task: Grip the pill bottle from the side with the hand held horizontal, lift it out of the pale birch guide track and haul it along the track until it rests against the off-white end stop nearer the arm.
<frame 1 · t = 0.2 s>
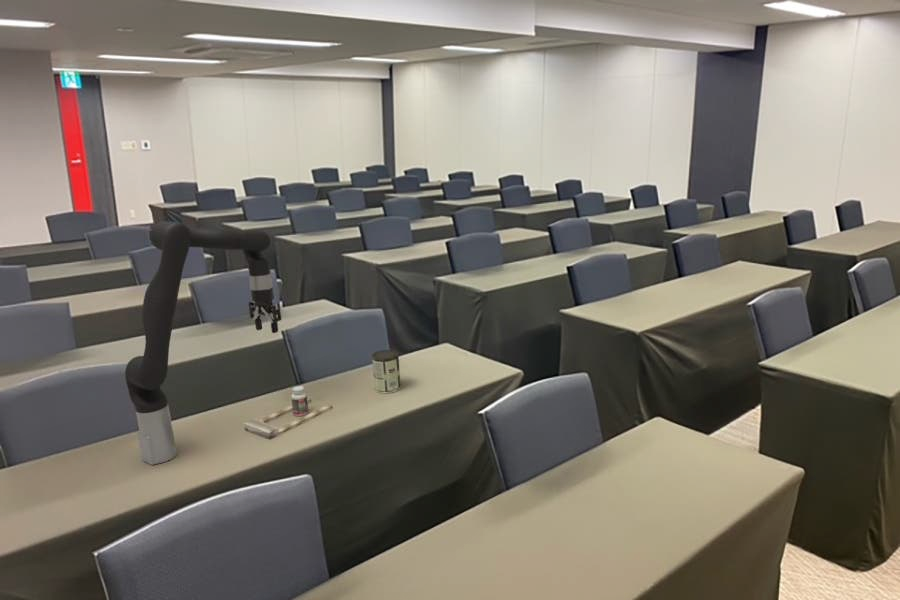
hand: (267, 331, 226), 29 cm above the table, tool pointing down, fingers open, 8 cm apart
coffee can: (387, 388, 244), on the table
keeper track: (290, 418, 222), on the table
pill bottle: (301, 413, 226), resting in keeper track
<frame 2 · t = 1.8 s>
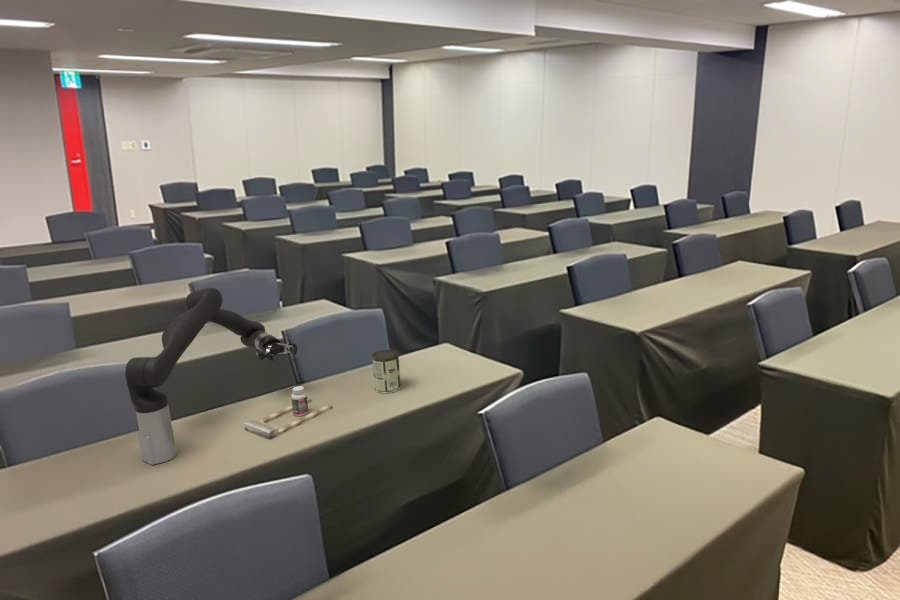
hand: (284, 355, 230), 19 cm above the table, tool horizontal, fingers open, 8 cm apart
nothing on the table moved.
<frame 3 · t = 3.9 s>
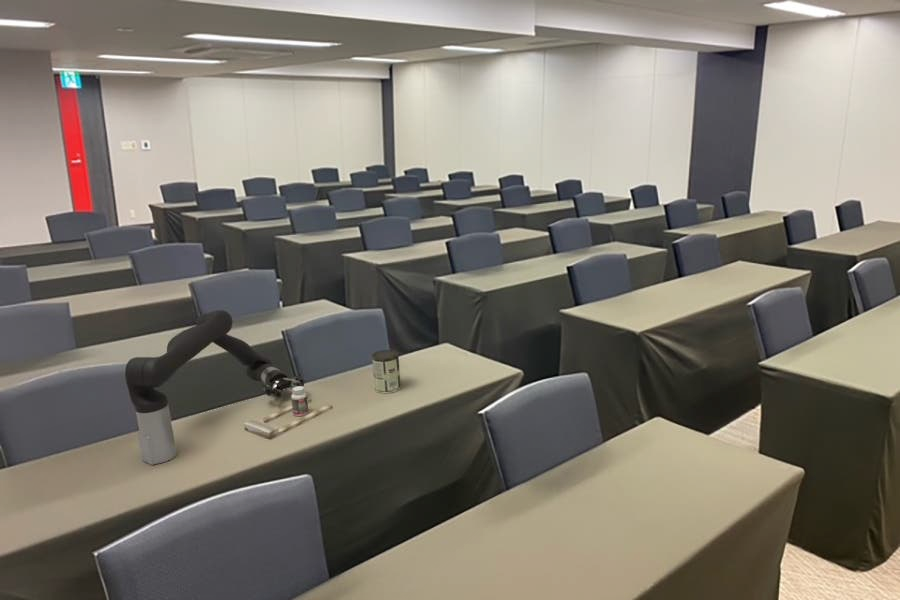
hand: (291, 391, 230), 6 cm above the table, tool horizontal, fingers open, 8 cm apart
nothing on the table moved.
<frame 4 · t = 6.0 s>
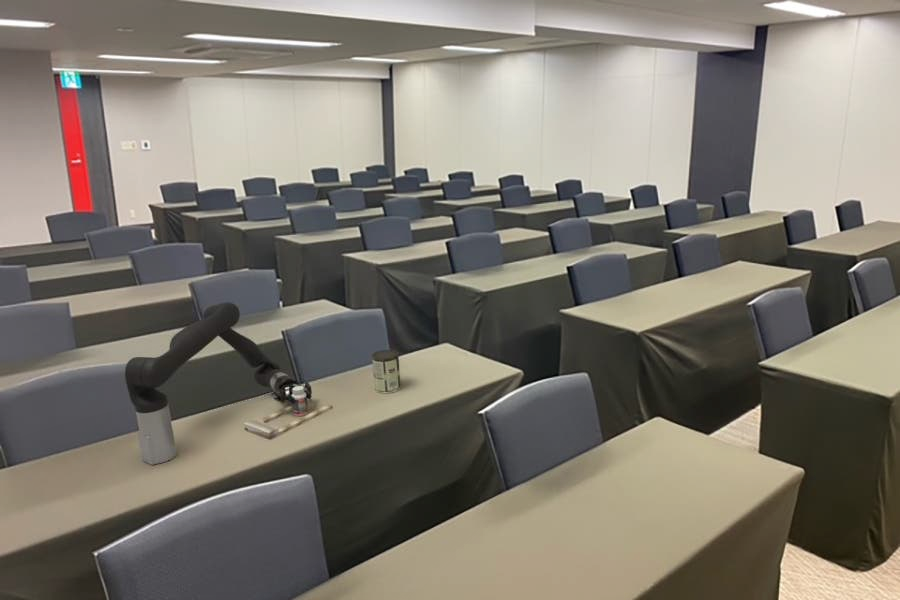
hand: (301, 398, 222), 7 cm above the table, tool horizontal, fingers closed on pill bottle, 5 cm apart
pill bottle: (301, 413, 226), resting in keeper track, touching gripper
everything else where it was.
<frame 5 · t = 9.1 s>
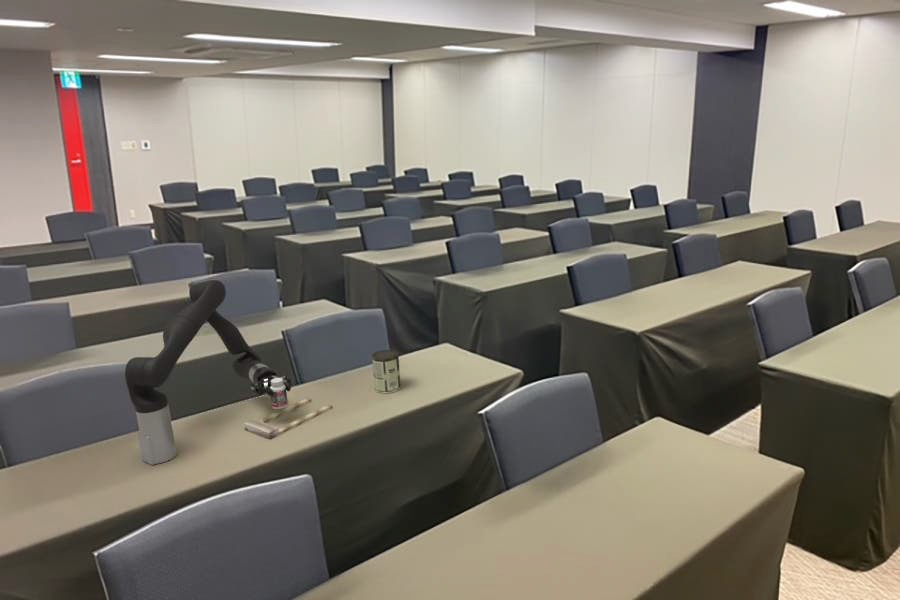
hand: (280, 391, 214), 13 cm above the table, tool horizontal, fingers closed on pill bottle, 5 cm apart
pill bottle: (280, 406, 218), point 6 cm above the table, touching gripper
everything else where it was.
when the fingers open (7 cm above the table, at t = 12.4 s): pill bottle stays where it is, resting in keeper track.
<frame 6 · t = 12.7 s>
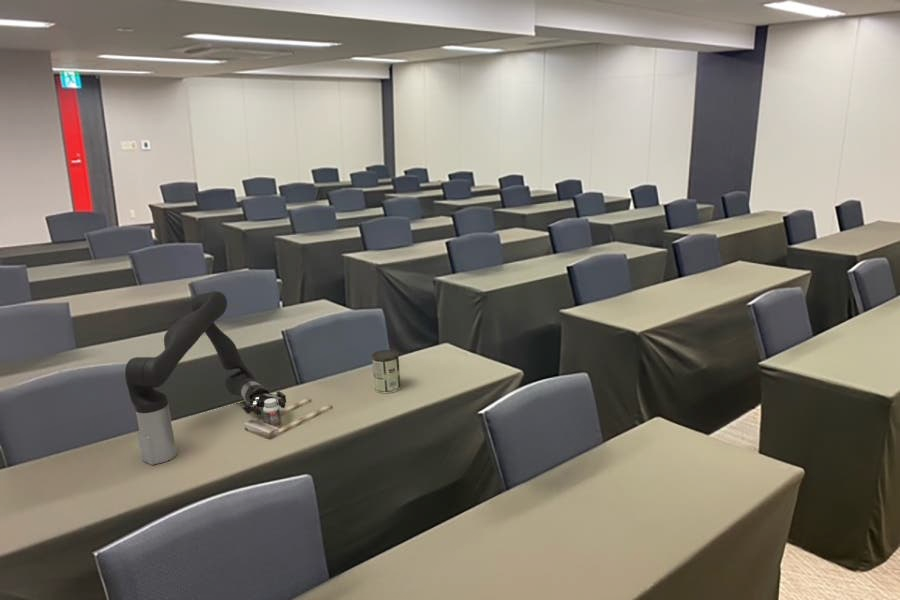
hand: (272, 409, 213), 7 cm above the table, tool horizontal, fingers open, 8 cm apart
pill bottle: (273, 427, 217), resting in keeper track
everything else where it was.
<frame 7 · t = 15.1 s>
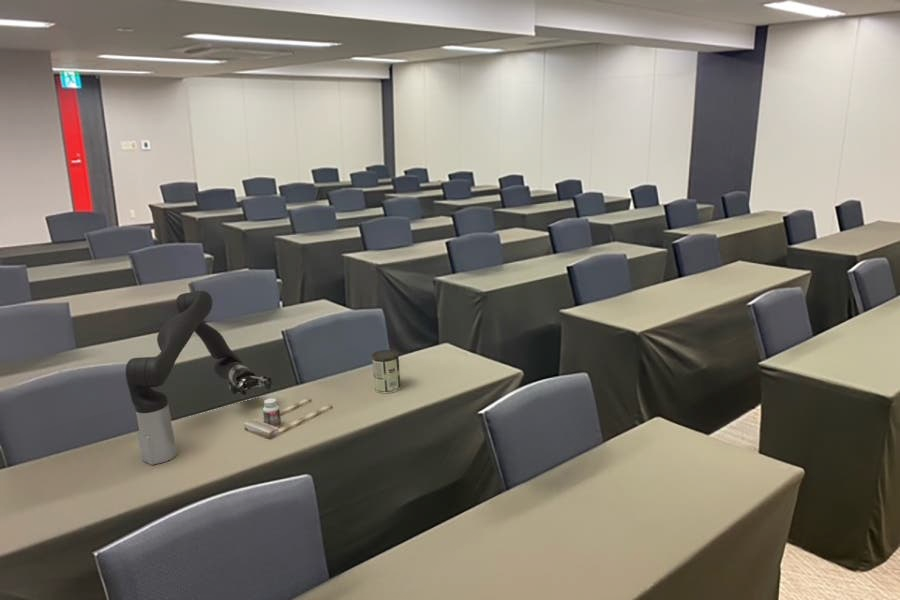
hand: (257, 389, 222), 10 cm above the table, tool horizontal, fingers open, 8 cm apart
nothing on the table moved.
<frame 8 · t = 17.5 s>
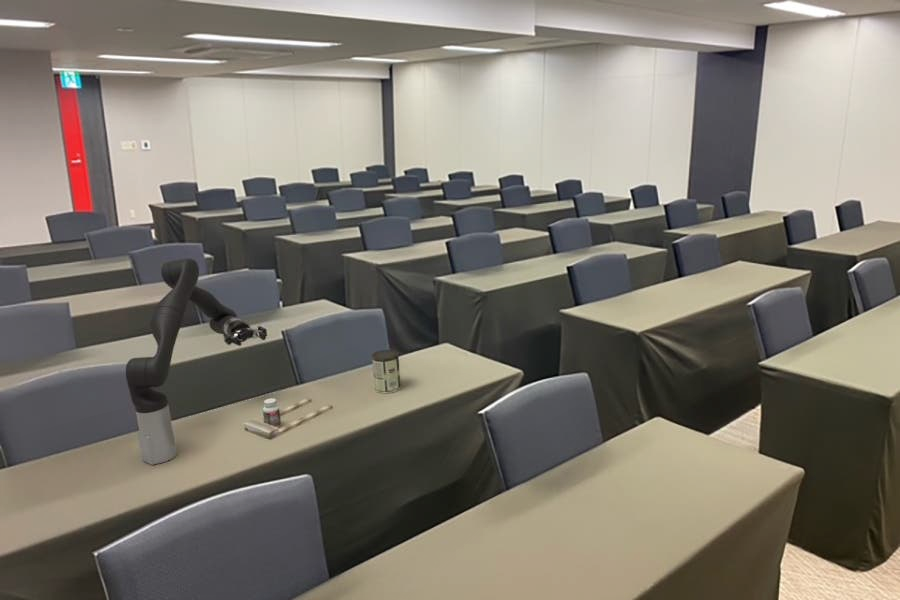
hand: (252, 340, 220), 28 cm above the table, tool horizontal, fingers open, 8 cm apart
nothing on the table moved.
at the end: pill bottle 0.0 cm from the target spot on the keeper track, point 0.0 cm above the keeper track's base; pill bottle tilted 0°; the gripper is holding nothing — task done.
